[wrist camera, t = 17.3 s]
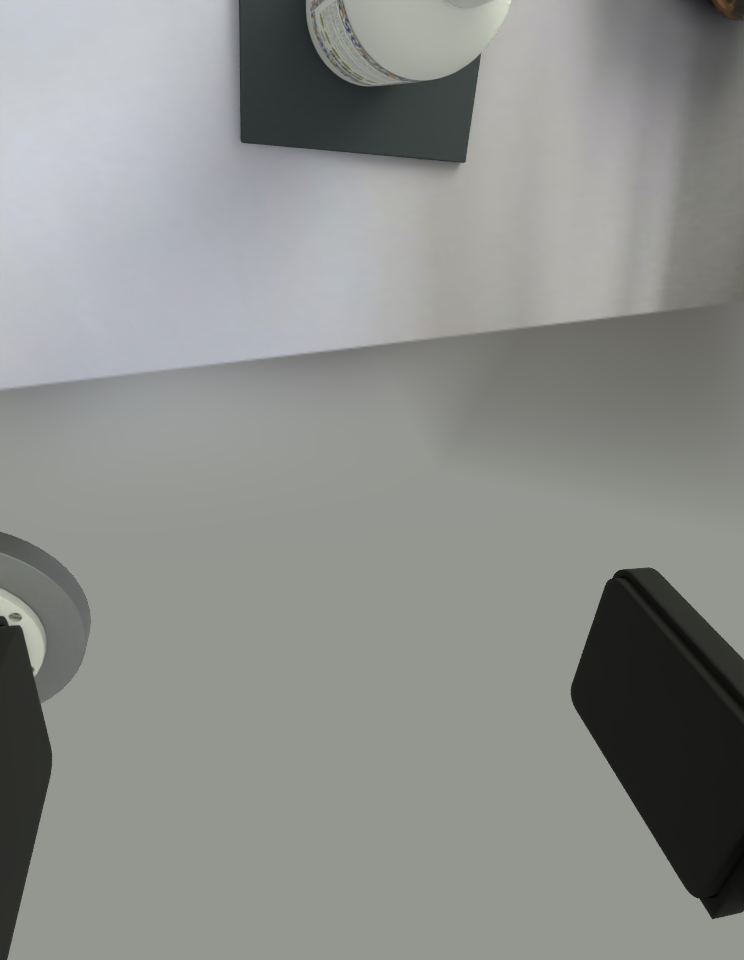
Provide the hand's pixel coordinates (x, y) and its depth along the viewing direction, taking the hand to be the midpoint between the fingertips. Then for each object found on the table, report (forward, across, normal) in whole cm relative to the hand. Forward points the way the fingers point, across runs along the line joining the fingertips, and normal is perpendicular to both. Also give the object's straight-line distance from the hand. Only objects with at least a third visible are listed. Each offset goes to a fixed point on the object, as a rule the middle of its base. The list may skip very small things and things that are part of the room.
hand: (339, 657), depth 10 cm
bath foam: (+36, -7, -13) cm, 38 cm away
